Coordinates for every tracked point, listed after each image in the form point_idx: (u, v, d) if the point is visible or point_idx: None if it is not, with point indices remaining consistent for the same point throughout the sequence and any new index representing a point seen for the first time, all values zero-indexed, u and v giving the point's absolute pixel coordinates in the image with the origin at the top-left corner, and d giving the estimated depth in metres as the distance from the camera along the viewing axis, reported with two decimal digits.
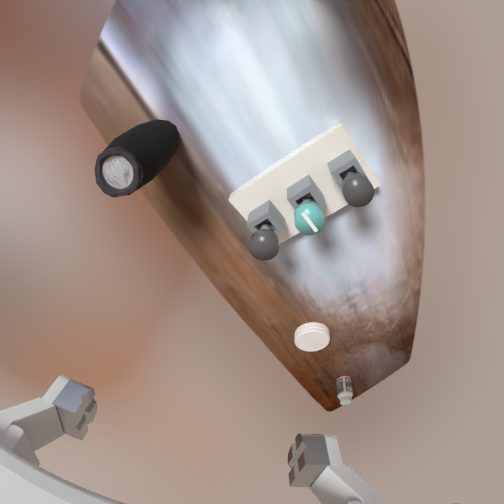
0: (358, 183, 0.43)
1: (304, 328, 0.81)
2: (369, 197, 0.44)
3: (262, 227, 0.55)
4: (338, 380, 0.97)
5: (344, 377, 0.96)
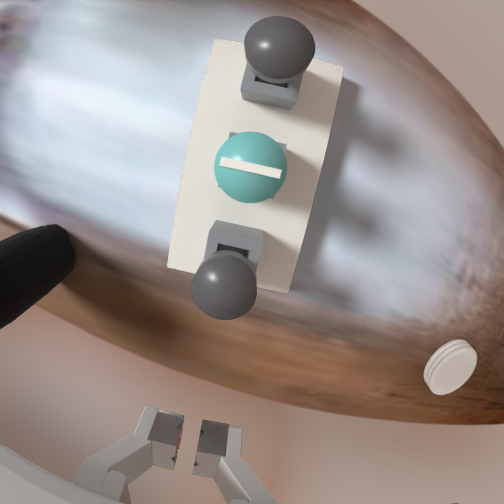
0: (261, 32, 0.17)
1: (432, 366, 0.40)
2: (305, 38, 0.17)
3: None
4: None
5: None
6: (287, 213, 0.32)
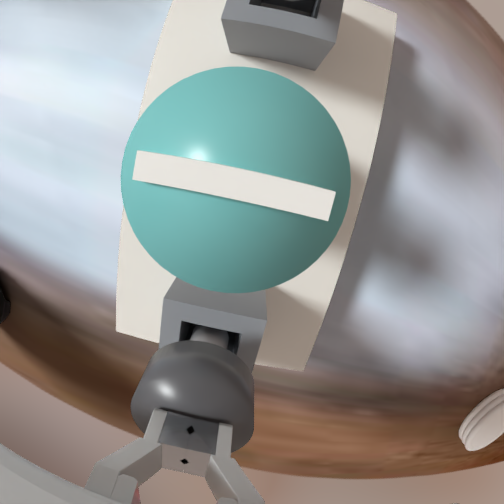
0: None
1: (472, 423, 0.26)
2: None
3: None
4: None
5: None
6: None
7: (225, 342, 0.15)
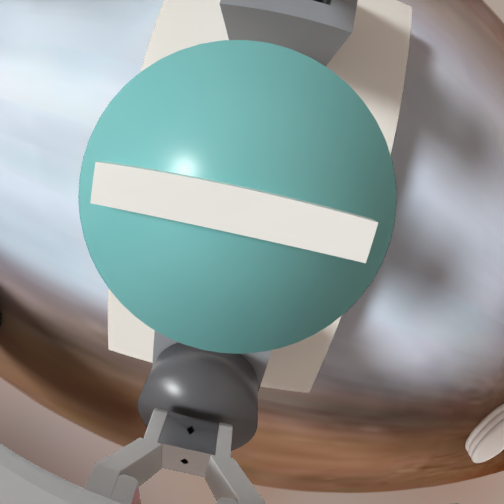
0: None
1: (479, 436, 0.24)
2: None
3: None
4: None
5: None
6: None
7: None
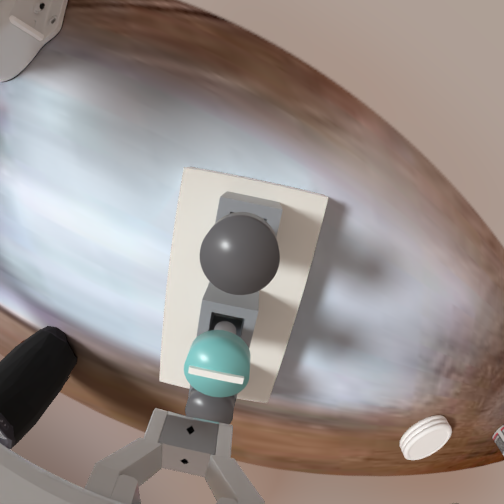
0: (218, 242, 0.18)
1: (407, 439, 0.40)
2: (269, 247, 0.18)
3: None
4: (494, 438, 0.43)
5: (499, 430, 0.43)
6: (265, 346, 0.33)
7: None
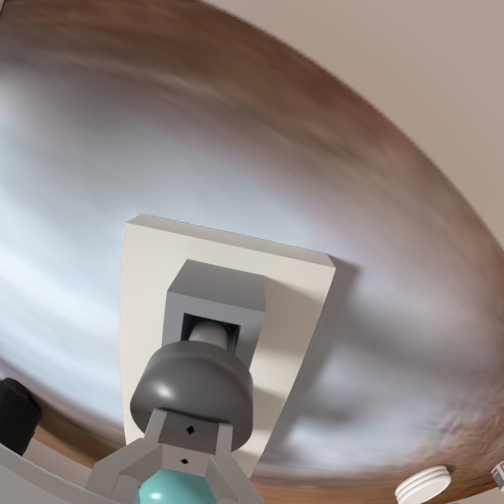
0: (154, 404, 0.10)
1: (403, 491, 0.33)
2: (235, 416, 0.10)
3: None
4: (493, 473, 0.36)
5: (499, 465, 0.36)
6: None
7: None
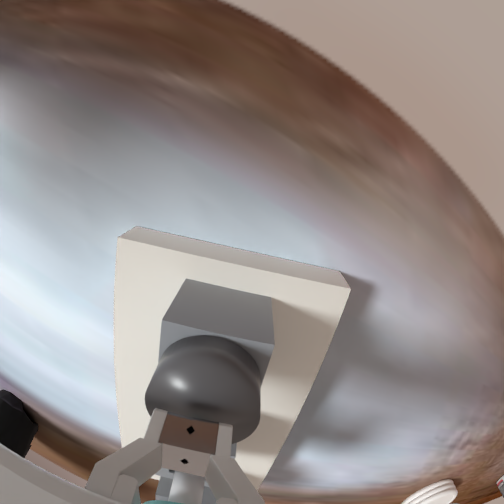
0: (168, 394, 0.11)
1: None
2: (244, 405, 0.11)
3: None
4: (499, 484, 0.33)
5: None
6: (249, 456, 0.22)
7: None
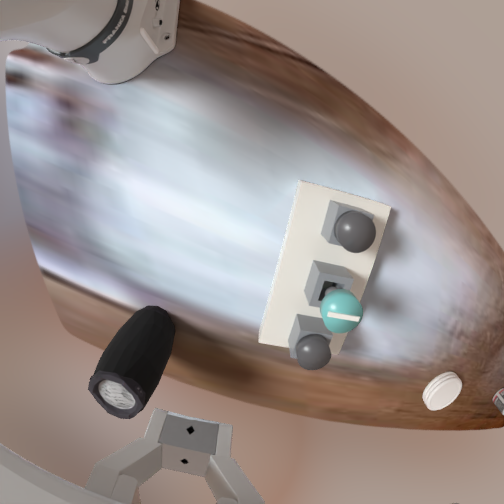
0: (348, 225, 0.35)
1: (429, 391, 0.54)
2: (371, 228, 0.35)
3: None
4: (494, 400, 0.58)
5: (498, 393, 0.58)
6: None
7: None
